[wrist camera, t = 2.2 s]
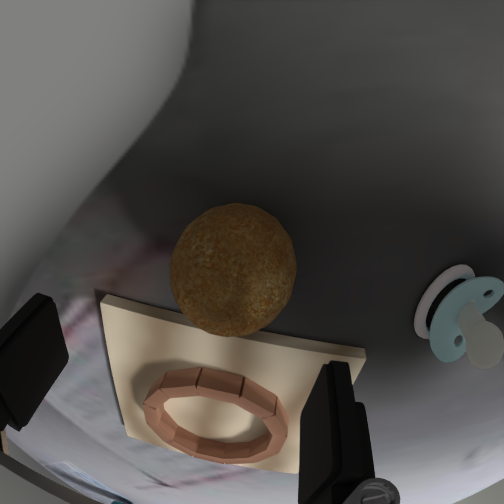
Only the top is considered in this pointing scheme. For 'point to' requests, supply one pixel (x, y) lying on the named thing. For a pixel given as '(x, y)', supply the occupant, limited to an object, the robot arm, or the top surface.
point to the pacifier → (462, 318)
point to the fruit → (233, 270)
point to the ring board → (214, 385)
